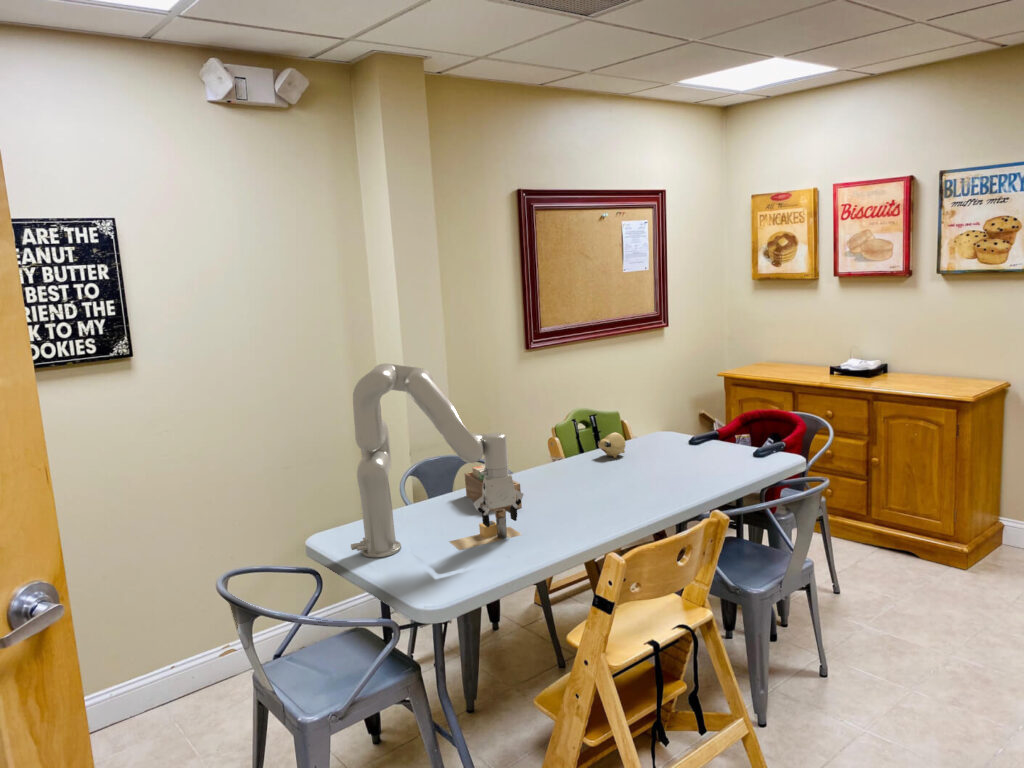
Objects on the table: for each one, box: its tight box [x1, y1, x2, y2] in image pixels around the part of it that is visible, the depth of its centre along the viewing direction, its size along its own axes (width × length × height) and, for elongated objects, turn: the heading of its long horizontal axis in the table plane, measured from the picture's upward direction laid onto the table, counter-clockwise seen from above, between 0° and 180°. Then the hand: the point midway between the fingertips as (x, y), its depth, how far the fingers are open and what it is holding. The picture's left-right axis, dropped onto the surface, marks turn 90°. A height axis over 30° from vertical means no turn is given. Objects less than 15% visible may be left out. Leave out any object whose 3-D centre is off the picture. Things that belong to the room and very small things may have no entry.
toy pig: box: [597, 431, 626, 459], centre depth 334 cm, size 10×12×11 cm
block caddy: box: [464, 471, 523, 513], centre depth 285 cm, size 11×26×9 cm, turn 26°
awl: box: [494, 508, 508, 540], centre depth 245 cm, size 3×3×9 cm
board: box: [449, 526, 522, 551], centre depth 246 cm, size 22×9×1 cm, turn 116°
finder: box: [478, 520, 497, 537], centre depth 249 cm, size 5×4×4 cm
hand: (500, 522), depth 245 cm, fingers open, 9 cm apart
